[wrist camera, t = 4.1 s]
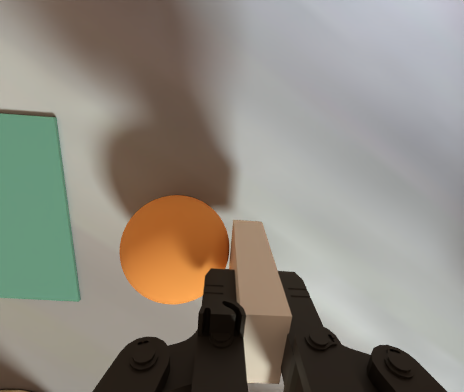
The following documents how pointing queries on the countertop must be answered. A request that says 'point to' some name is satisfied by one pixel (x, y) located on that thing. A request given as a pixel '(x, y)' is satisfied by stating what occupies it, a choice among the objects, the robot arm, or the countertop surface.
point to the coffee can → (13, 391)
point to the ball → (173, 248)
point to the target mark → (34, 212)
